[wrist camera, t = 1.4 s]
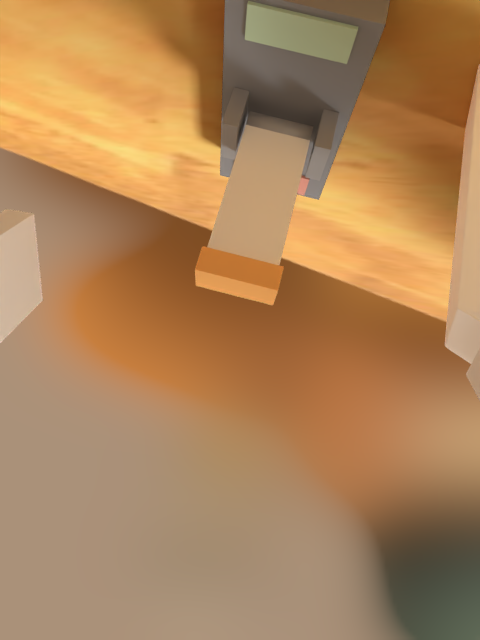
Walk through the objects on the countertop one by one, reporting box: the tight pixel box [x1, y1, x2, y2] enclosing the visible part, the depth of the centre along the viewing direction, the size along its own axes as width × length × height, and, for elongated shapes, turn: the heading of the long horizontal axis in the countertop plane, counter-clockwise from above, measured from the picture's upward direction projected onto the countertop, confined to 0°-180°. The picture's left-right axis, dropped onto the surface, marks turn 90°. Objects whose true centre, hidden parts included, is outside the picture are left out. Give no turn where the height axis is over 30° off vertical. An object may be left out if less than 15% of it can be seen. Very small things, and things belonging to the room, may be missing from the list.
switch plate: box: [220, 0, 390, 200], centre depth 36 cm, size 18×10×7 cm, turn 176°
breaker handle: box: [195, 111, 313, 305], centre depth 33 cm, size 3×6×15 cm, turn 86°
